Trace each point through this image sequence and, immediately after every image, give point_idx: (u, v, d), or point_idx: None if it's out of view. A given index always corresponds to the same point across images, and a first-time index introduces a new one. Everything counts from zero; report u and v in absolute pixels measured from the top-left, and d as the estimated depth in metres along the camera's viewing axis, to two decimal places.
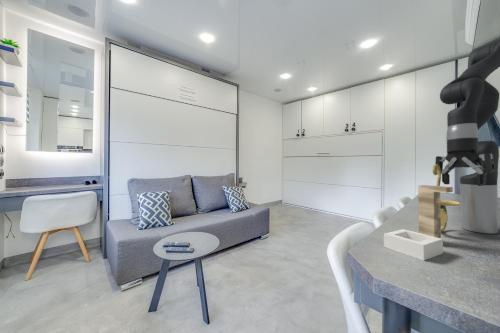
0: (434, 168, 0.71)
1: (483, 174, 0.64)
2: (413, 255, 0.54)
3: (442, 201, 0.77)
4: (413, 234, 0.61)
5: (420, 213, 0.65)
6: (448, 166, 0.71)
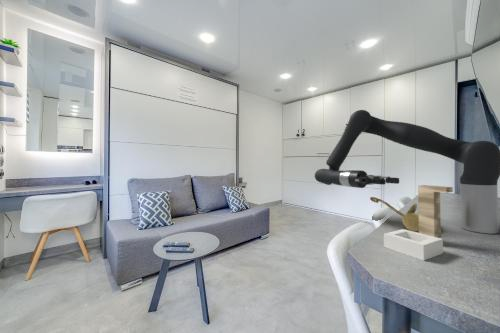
0: (371, 199, 0.89)
1: (373, 182, 0.76)
2: (413, 255, 0.54)
3: None
4: (413, 234, 0.61)
5: (420, 213, 0.65)
6: None
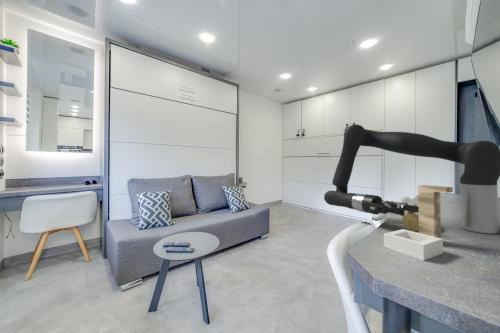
0: None
1: (390, 212, 0.70)
2: (413, 255, 0.54)
3: None
4: (413, 234, 0.61)
5: (420, 213, 0.65)
6: None
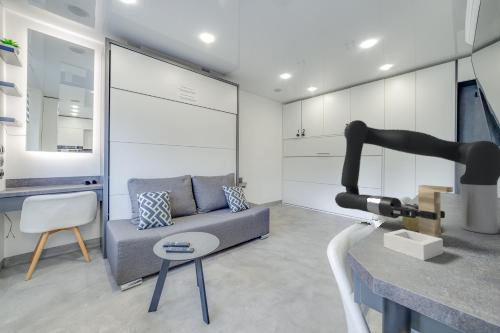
0: None
1: (420, 216, 0.64)
2: (413, 255, 0.54)
3: None
4: (413, 234, 0.61)
5: None
6: None
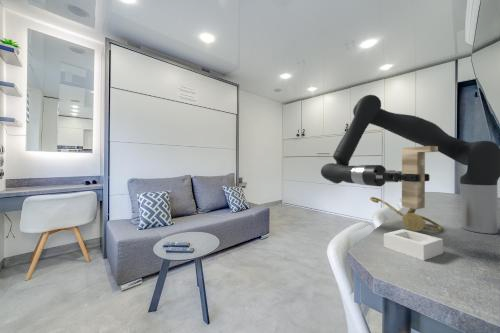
0: (371, 199, 0.89)
1: (403, 179, 0.60)
2: (413, 255, 0.54)
3: None
4: (413, 234, 0.61)
5: None
6: (401, 181, 0.65)
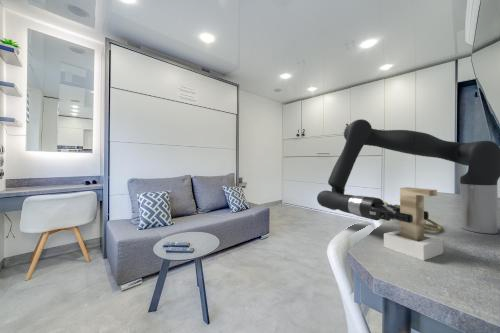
0: None
1: (395, 218, 0.58)
2: (413, 255, 0.54)
3: None
4: None
5: None
6: None
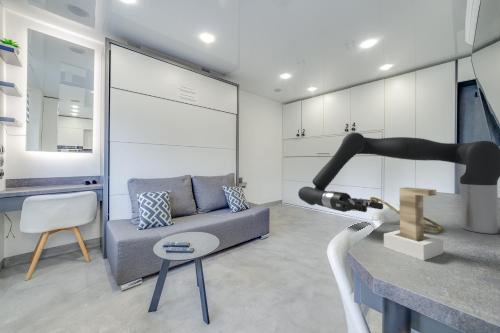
0: (371, 199, 0.89)
1: (354, 209, 0.70)
2: (413, 255, 0.54)
3: None
4: None
5: (401, 218, 0.59)
6: None
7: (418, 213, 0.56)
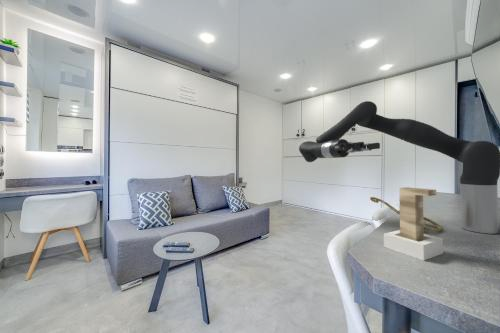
0: (371, 199, 0.89)
1: (352, 147, 0.72)
2: (413, 255, 0.54)
3: None
4: None
5: (401, 218, 0.59)
6: (360, 151, 0.78)
7: (418, 213, 0.56)
